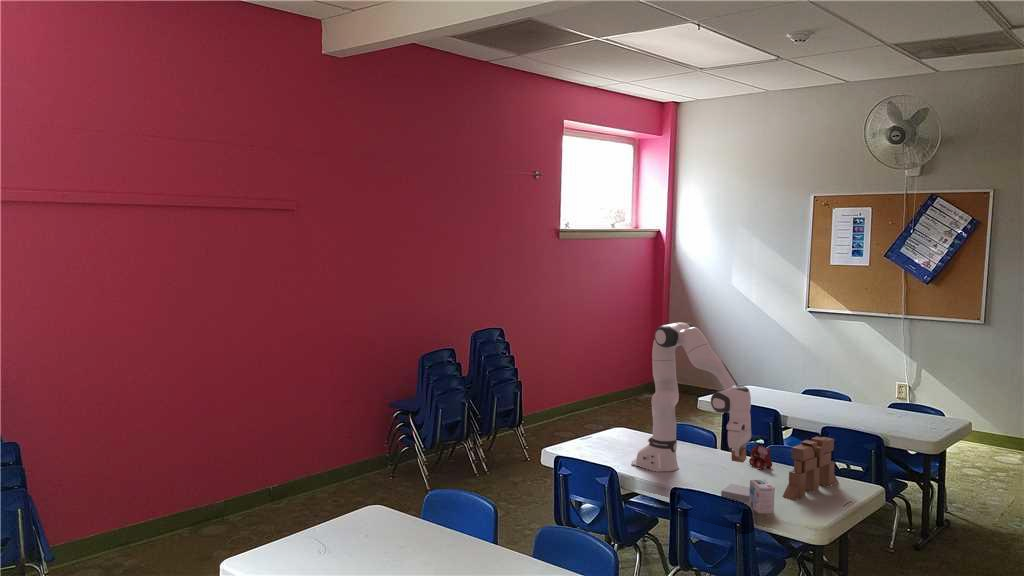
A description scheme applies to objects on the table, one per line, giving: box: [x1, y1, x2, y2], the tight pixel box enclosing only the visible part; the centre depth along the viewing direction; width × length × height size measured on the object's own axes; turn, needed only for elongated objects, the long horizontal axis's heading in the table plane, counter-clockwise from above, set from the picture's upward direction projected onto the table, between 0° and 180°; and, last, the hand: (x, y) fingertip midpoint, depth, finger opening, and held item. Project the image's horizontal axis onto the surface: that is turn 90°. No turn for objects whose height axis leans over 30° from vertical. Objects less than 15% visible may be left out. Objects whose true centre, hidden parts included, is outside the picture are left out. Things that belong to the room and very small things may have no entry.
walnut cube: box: [731, 446, 747, 463], centre depth 344 cm, size 5×5×5 cm
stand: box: [720, 483, 750, 503], centre depth 341 cm, size 12×12×2 cm
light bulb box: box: [748, 479, 776, 514], centre depth 324 cm, size 11×7×11 cm, turn 5°
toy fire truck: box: [748, 444, 773, 470], centre depth 385 cm, size 7×12×10 cm, turn 22°
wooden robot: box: [782, 436, 839, 501], centre depth 350 cm, size 40×9×23 cm, turn 132°
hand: (739, 454), depth 344 cm, fingers closed on walnut cube, 5 cm apart
